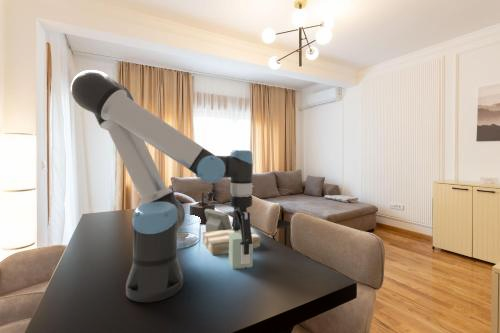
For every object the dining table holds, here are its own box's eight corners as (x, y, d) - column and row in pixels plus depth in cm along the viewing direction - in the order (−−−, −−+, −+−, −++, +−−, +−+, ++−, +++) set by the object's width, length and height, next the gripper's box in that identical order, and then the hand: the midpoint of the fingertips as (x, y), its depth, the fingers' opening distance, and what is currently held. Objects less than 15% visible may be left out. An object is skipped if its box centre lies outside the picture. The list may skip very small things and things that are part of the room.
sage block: (252, 267, 85) (253, 238, 85) (232, 269, 83) (232, 239, 83) (247, 258, 92) (248, 231, 91) (228, 260, 90) (229, 233, 90)
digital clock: (234, 234, 120) (234, 212, 119) (217, 238, 114) (218, 215, 114) (216, 226, 132) (216, 206, 132) (201, 229, 127) (201, 208, 126)
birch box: (260, 248, 103) (260, 237, 103) (212, 256, 94) (212, 243, 94) (245, 238, 116) (246, 227, 116) (202, 243, 107) (202, 232, 107)
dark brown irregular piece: (188, 222, 139) (188, 190, 138) (200, 218, 149) (201, 188, 148) (210, 226, 132) (211, 192, 131) (222, 221, 142) (222, 190, 141)
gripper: (262, 201, 75) (261, 269, 76) (243, 189, 100) (243, 242, 101) (238, 201, 73) (237, 272, 74) (224, 190, 98) (224, 243, 99)
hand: (240, 255), depth 87 cm, fingers open, 13 cm apart
